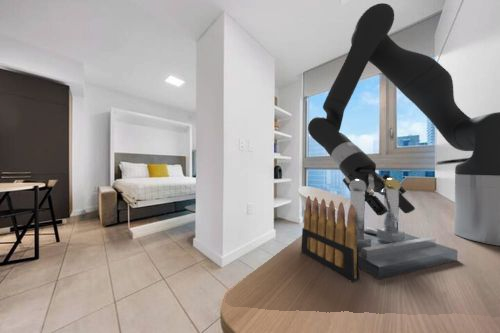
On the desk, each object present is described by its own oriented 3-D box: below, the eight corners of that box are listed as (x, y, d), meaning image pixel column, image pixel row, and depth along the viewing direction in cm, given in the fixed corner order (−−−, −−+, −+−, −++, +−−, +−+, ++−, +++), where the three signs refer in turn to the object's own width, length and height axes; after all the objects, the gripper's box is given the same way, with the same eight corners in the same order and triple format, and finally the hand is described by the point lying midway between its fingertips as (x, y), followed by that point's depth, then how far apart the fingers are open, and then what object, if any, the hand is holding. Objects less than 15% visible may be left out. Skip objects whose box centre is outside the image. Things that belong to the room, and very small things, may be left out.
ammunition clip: (300, 251, 35) (302, 195, 35) (306, 249, 36) (308, 194, 36) (353, 282, 26) (354, 206, 26) (359, 279, 27) (361, 205, 27)
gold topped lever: (372, 229, 43) (373, 176, 43) (404, 241, 36) (405, 178, 36) (360, 230, 41) (361, 176, 41) (391, 243, 35) (393, 178, 35)
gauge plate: (386, 234, 46) (387, 223, 46) (457, 260, 33) (457, 244, 33) (321, 243, 39) (321, 230, 39) (378, 279, 27) (379, 259, 27)
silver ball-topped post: (341, 234, 40) (343, 177, 40) (370, 248, 33) (372, 179, 33) (328, 236, 38) (329, 177, 38) (355, 251, 32) (357, 179, 32)
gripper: (339, 149, 42) (388, 204, 31) (379, 152, 46) (435, 201, 35) (323, 169, 47) (361, 223, 36) (361, 170, 51) (404, 218, 40)
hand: (397, 212), depth 36 cm, fingers open, 8 cm apart
